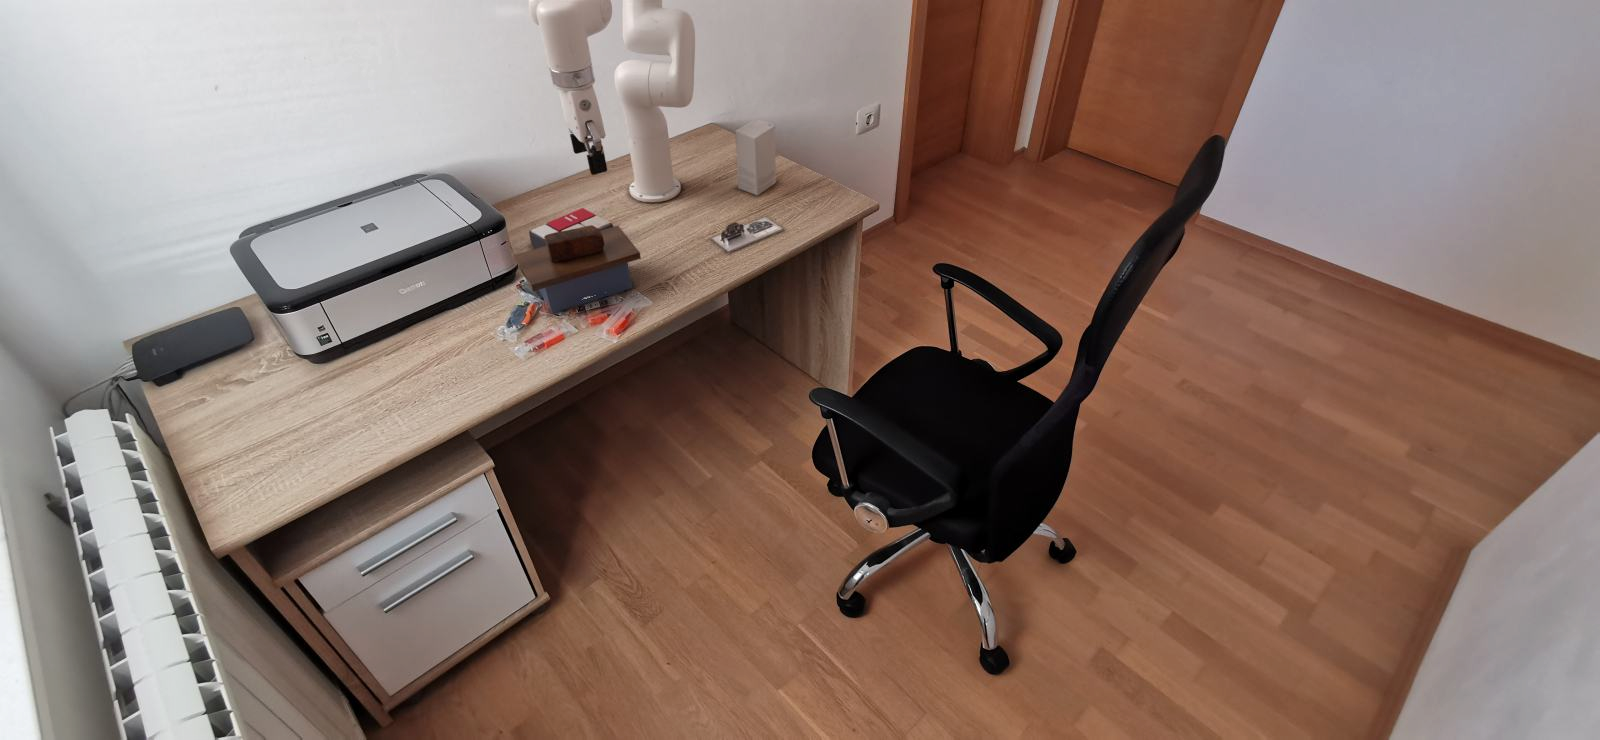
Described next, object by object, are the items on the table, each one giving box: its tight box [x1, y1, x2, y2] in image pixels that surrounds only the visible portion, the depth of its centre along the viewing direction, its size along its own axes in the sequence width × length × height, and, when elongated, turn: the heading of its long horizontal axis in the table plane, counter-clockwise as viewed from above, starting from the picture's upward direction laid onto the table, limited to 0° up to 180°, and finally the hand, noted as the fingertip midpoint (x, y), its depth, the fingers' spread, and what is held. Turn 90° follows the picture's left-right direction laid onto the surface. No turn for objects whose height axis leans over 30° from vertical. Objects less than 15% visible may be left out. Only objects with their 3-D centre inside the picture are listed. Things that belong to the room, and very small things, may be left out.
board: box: [513, 225, 642, 292], centre depth 150 cm, size 12×22×2 cm, turn 121°
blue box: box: [538, 262, 633, 314], centre depth 153 cm, size 10×17×7 cm, turn 121°
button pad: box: [528, 207, 614, 249], centre depth 167 cm, size 11×4×15 cm
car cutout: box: [712, 216, 783, 253], centre depth 169 cm, size 15×7×4 cm, turn 129°
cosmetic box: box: [734, 118, 777, 196], centre depth 183 cm, size 8×7×16 cm
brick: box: [544, 225, 604, 262], centre depth 148 cm, size 11×4×5 cm, turn 116°
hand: (590, 162), depth 145 cm, fingers open, 9 cm apart
